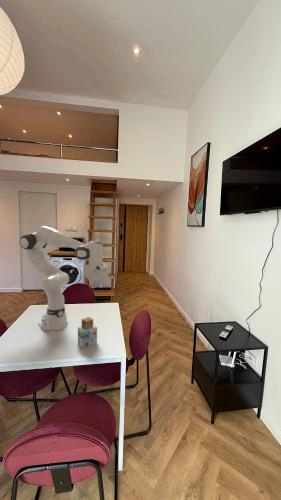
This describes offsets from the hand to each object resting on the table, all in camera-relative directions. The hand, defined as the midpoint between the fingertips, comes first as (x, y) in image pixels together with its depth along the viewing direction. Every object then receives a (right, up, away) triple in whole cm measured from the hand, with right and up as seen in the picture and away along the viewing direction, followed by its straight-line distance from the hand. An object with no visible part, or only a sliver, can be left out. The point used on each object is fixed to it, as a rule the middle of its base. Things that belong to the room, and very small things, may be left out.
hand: (95, 286), depth 146 cm
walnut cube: (-4, -24, -8) cm, 26 cm away
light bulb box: (-4, -35, -7) cm, 36 cm away
